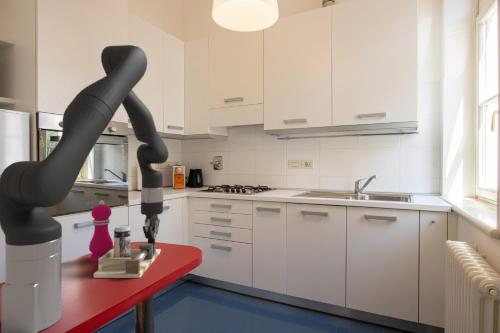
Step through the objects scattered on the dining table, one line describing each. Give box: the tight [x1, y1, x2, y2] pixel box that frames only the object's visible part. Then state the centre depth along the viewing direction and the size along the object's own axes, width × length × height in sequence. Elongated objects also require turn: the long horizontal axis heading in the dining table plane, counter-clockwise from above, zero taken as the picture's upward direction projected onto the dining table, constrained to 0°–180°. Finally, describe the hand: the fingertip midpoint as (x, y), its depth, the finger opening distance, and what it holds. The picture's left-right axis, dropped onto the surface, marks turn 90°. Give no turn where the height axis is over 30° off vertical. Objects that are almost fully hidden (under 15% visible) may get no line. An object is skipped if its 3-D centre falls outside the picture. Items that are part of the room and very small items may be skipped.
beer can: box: [113, 224, 131, 258], centre depth 88 cm, size 5×5×12 cm
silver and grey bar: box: [134, 242, 157, 262], centre depth 92 cm, size 14×4×3 cm, turn 3°
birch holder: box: [93, 243, 162, 279], centre depth 93 cm, size 23×13×6 cm, turn 3°
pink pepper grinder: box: [88, 200, 114, 263], centre depth 96 cm, size 7×7×20 cm
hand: (151, 248), depth 101 cm, fingers closed
